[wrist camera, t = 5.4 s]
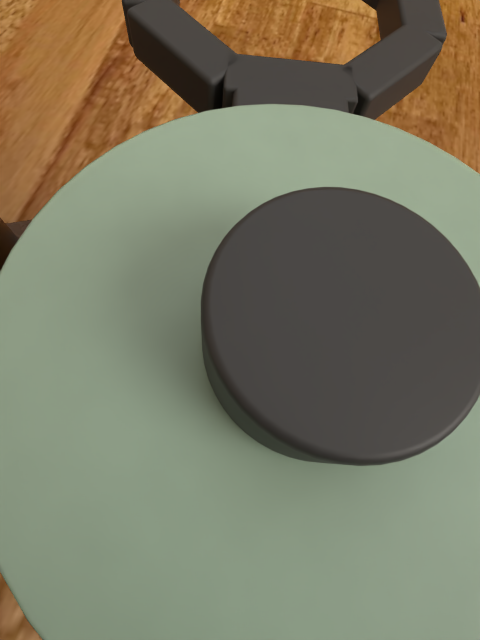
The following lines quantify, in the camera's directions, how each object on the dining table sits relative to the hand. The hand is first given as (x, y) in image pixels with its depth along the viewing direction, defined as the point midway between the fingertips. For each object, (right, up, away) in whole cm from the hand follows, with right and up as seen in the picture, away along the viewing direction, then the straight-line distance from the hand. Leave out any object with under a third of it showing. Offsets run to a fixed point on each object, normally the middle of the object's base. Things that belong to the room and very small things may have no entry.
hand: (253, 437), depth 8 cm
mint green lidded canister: (-1, +1, +9) cm, 9 cm away
